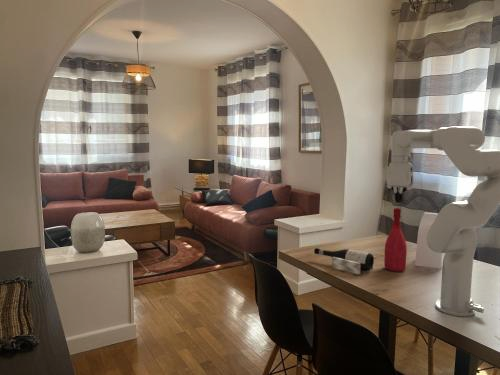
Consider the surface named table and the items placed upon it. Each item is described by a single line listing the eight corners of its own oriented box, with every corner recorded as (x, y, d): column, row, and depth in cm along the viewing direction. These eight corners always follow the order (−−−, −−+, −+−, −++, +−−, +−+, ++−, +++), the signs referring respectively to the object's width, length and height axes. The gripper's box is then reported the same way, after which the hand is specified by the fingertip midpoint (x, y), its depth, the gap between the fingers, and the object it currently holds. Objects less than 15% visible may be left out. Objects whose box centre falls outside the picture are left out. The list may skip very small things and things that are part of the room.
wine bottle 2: (407, 273, 176) (410, 210, 172) (385, 271, 178) (388, 209, 174) (403, 266, 185) (406, 206, 182) (382, 265, 187) (384, 206, 184)
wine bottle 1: (372, 250, 177) (316, 240, 196) (366, 261, 172) (309, 250, 191) (375, 262, 180) (320, 251, 200) (369, 274, 176) (313, 261, 195)
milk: (441, 262, 192) (444, 212, 189) (441, 268, 182) (444, 216, 179) (416, 259, 197) (418, 210, 194) (414, 265, 187) (417, 214, 184)
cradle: (372, 268, 182) (373, 256, 181) (358, 276, 171) (358, 263, 171) (346, 262, 191) (347, 251, 191) (331, 269, 181) (332, 257, 180)
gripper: (421, 160, 159) (419, 203, 161) (387, 159, 169) (385, 199, 171) (415, 160, 153) (413, 205, 155) (380, 159, 163) (378, 201, 165)
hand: (398, 202), depth 163 cm, fingers closed
